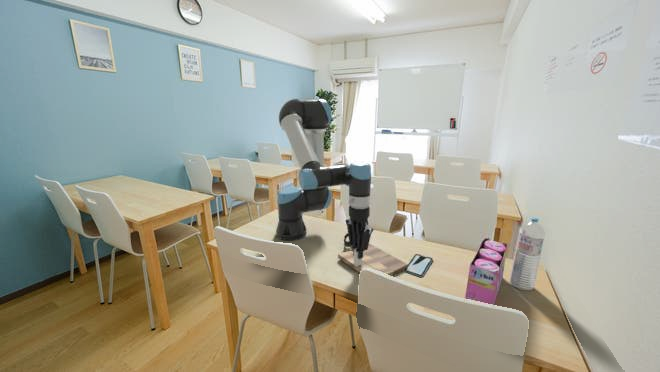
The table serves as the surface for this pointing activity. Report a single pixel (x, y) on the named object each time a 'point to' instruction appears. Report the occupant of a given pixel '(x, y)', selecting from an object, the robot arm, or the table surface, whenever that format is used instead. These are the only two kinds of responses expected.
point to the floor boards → (385, 259)
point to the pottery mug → (346, 243)
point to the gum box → (486, 272)
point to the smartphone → (418, 265)
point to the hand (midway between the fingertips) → (357, 264)
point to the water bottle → (527, 255)
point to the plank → (364, 263)
